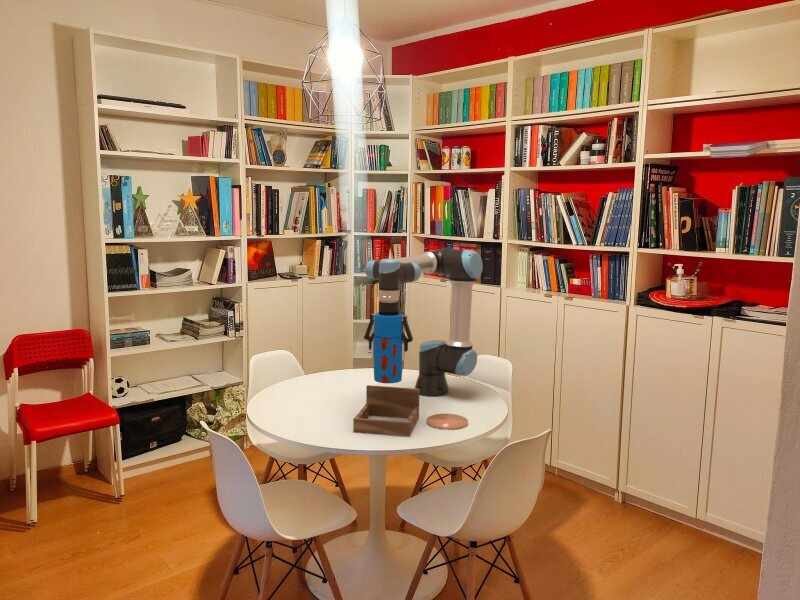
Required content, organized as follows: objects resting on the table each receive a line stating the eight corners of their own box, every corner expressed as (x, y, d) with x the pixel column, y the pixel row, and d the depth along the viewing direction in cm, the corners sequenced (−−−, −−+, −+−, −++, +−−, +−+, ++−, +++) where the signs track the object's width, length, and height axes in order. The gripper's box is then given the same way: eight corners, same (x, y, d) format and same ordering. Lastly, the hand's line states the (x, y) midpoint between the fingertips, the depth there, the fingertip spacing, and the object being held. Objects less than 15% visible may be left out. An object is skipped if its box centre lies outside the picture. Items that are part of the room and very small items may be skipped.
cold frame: (367, 414, 257) (367, 385, 255) (418, 418, 253) (419, 388, 251) (353, 432, 237) (353, 400, 235) (409, 436, 233) (409, 404, 231)
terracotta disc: (429, 414, 258) (429, 412, 258) (469, 417, 255) (469, 415, 255) (423, 428, 242) (423, 425, 242) (465, 431, 239) (465, 428, 239)
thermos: (380, 374, 249) (381, 311, 246) (406, 377, 245) (407, 313, 242) (369, 381, 239) (369, 315, 236) (395, 384, 235) (396, 317, 232)
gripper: (355, 301, 236) (355, 359, 240) (418, 303, 232) (417, 363, 235) (360, 298, 244) (360, 354, 247) (421, 300, 239) (420, 358, 243)
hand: (388, 358), depth 241 cm, fingers closed on thermos, 11 cm apart
